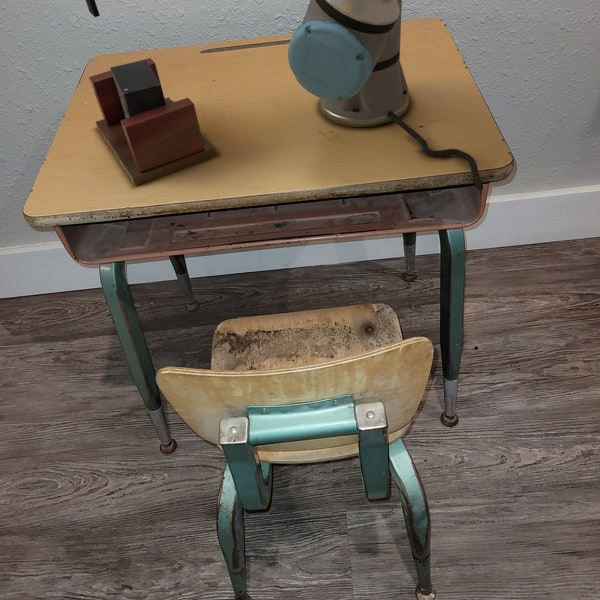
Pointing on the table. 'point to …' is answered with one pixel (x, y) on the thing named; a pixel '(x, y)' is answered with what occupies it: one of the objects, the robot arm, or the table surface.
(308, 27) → the robot arm
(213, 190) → the table surface
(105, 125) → the book stand
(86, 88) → the table surface
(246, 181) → the table surface
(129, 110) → the small box
